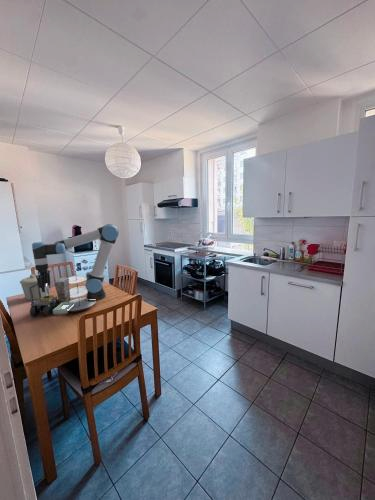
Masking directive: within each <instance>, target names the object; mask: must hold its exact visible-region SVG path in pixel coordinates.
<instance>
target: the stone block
mask: <svg viewBox="0 0 375 500" xmlns="http://www.w3.org/2000/svg"><path fill="white" fill-rule="evenodd" d="M54 287H55V290H56V294H57V299H58V300H59V305H60V304H61V303H63V302H71V291H70V279H69V277H60V278H58V280H56V281H55V284H54Z"/></svg>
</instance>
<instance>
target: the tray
mask: <svg viewBox="0 0 375 500" xmlns="http://www.w3.org/2000/svg"><path fill="white" fill-rule="evenodd" d="M73 304H74V305H75V302H74V301H69V302H63V303H61V304H60V305H58V306H57V307H56V308H55V309H53V313H52V314H53V315H55V316H56V315H57V316H58V315H66V314H68V313H69V312H68V311H67V309H69V308H70V307H71V306H72V305H73ZM63 305H69V306H68V307H66V308H65V309H61V307H62V306H63Z"/></svg>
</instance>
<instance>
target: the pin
mask: <svg viewBox="0 0 375 500" xmlns="http://www.w3.org/2000/svg"><path fill="white" fill-rule="evenodd" d="M45 287H46V291H47V296H44V298H49V295H50V294H49V292H48V286H47V283H45Z"/></svg>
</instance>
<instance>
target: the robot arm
mask: <svg viewBox="0 0 375 500" xmlns="http://www.w3.org/2000/svg"><path fill="white" fill-rule="evenodd" d="M118 237H119V228H118V227H117V226H116V225H113V224H111V223H110V224H109V223H108V224H105V225H103V226H101V227H98V228H97V229H95V230H92V231H89V232H85V233H82V234H79V235H76V236H71V237H69V238H66V239H62V240H59V241H58V240H57V241H55V242H54V243H49V244H46V243H45V241H36V242H33V243H32V244H31V246H32V247H31V249H32V250H31V251H32V253H33V254H32V255H33V261H34V264H35V265H34V268H35V270H36V271H37V274H35V276H36V278H37V282H38V286H39V288H41V289H42V295H43V296H47V291H46V287H45V283H47V286H48V292H49V295H51V292H50V285H51V275H50V273H51V271H50V270H48V269H49V264H48V256H51V255H52V256H53V255H62V254H66V250H68V249H73V248H75V247H77V246H82V245H85V244H88V243H91V242H95V241H97V240H99V241H100V244H99V246H98V247H99V248H98V250H97V254H96V257H95V260H94V264H93V268H92V269H91V271H87V272H86V274H85V277H86V281H85V284H84V285H85V289H86V290H87V291H86V292H87V293H86V300H87V299H96V301H99V300H103V299H105V298H106V296H107V294H106V291H105V289H104V286H103V283H104V280H105V274H104V272H105V270H106V266H107V264H108V259H109V257H110V254H111V250H112V248H113V245H115V244H116V241H117V238H118Z"/></svg>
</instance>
